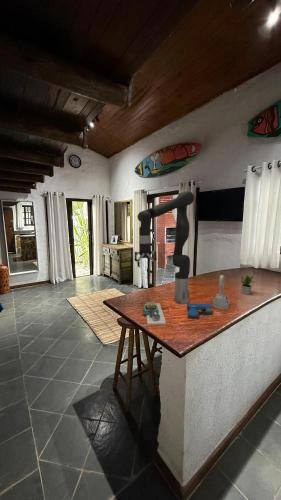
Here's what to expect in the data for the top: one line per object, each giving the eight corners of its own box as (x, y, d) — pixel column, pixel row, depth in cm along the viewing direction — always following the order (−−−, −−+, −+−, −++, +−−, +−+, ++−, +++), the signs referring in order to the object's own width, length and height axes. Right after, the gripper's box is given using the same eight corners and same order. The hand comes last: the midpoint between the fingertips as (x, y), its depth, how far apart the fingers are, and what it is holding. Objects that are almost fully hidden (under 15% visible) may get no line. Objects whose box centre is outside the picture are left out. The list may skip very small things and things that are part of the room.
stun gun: (216, 315, 119) (210, 302, 133) (188, 314, 120) (185, 302, 135) (215, 321, 120) (209, 308, 134) (188, 321, 121) (185, 308, 136)
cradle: (157, 309, 133) (157, 304, 133) (158, 314, 125) (158, 310, 124) (143, 309, 133) (143, 305, 133) (144, 315, 125) (144, 310, 124)
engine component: (211, 307, 136) (227, 310, 131) (211, 276, 134) (228, 278, 128) (215, 301, 146) (230, 304, 140) (215, 272, 143) (231, 274, 138)
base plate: (159, 304, 143) (159, 303, 143) (165, 324, 115) (165, 322, 115) (144, 304, 143) (144, 303, 143) (147, 324, 115) (147, 323, 115)
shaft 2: (148, 315, 124) (148, 309, 123) (154, 314, 125) (154, 308, 125) (154, 321, 116) (154, 314, 116) (160, 320, 118) (160, 313, 117)
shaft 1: (153, 309, 133) (153, 303, 133) (147, 309, 133) (147, 303, 133) (152, 304, 141) (152, 298, 141) (146, 304, 141) (146, 298, 141)
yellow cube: (155, 312, 127) (155, 304, 126) (147, 313, 126) (147, 305, 126) (154, 309, 132) (154, 301, 131) (146, 309, 132) (146, 302, 131)
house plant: (262, 297, 152) (263, 275, 150) (243, 297, 152) (244, 275, 150) (252, 290, 166) (253, 270, 164) (234, 291, 166) (235, 271, 164)
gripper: (134, 243, 131) (135, 268, 133) (156, 242, 132) (157, 267, 134) (133, 242, 138) (134, 266, 141) (155, 241, 139) (155, 265, 141)
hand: (145, 267), depth 137 cm, fingers open, 8 cm apart
